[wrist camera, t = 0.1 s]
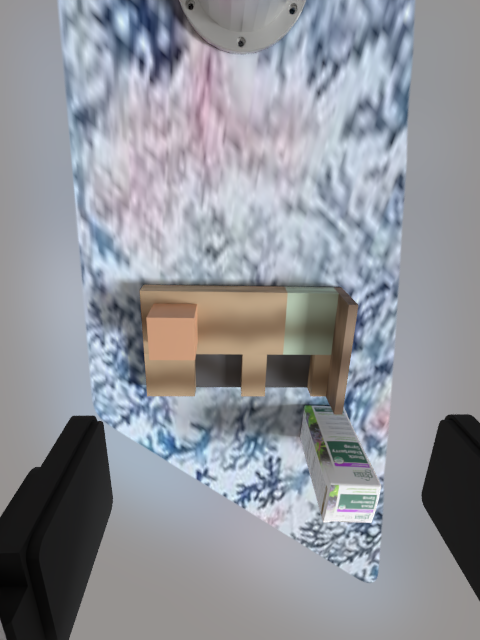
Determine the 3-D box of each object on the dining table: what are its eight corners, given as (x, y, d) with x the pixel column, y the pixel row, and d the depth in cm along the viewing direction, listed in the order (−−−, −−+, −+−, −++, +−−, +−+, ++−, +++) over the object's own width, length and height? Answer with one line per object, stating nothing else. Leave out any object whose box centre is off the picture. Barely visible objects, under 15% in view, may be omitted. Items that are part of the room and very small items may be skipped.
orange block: (153, 303, 45) (146, 317, 41) (196, 303, 45) (194, 318, 41) (156, 342, 47) (149, 360, 43) (197, 343, 47) (195, 360, 43)
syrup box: (344, 405, 54) (384, 484, 41) (337, 439, 56) (373, 526, 43) (303, 404, 54) (330, 483, 40) (298, 438, 56) (322, 525, 42)
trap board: (143, 284, 47) (131, 302, 41) (341, 287, 48) (358, 305, 42) (150, 385, 52) (141, 414, 46) (328, 386, 53) (342, 414, 47)
